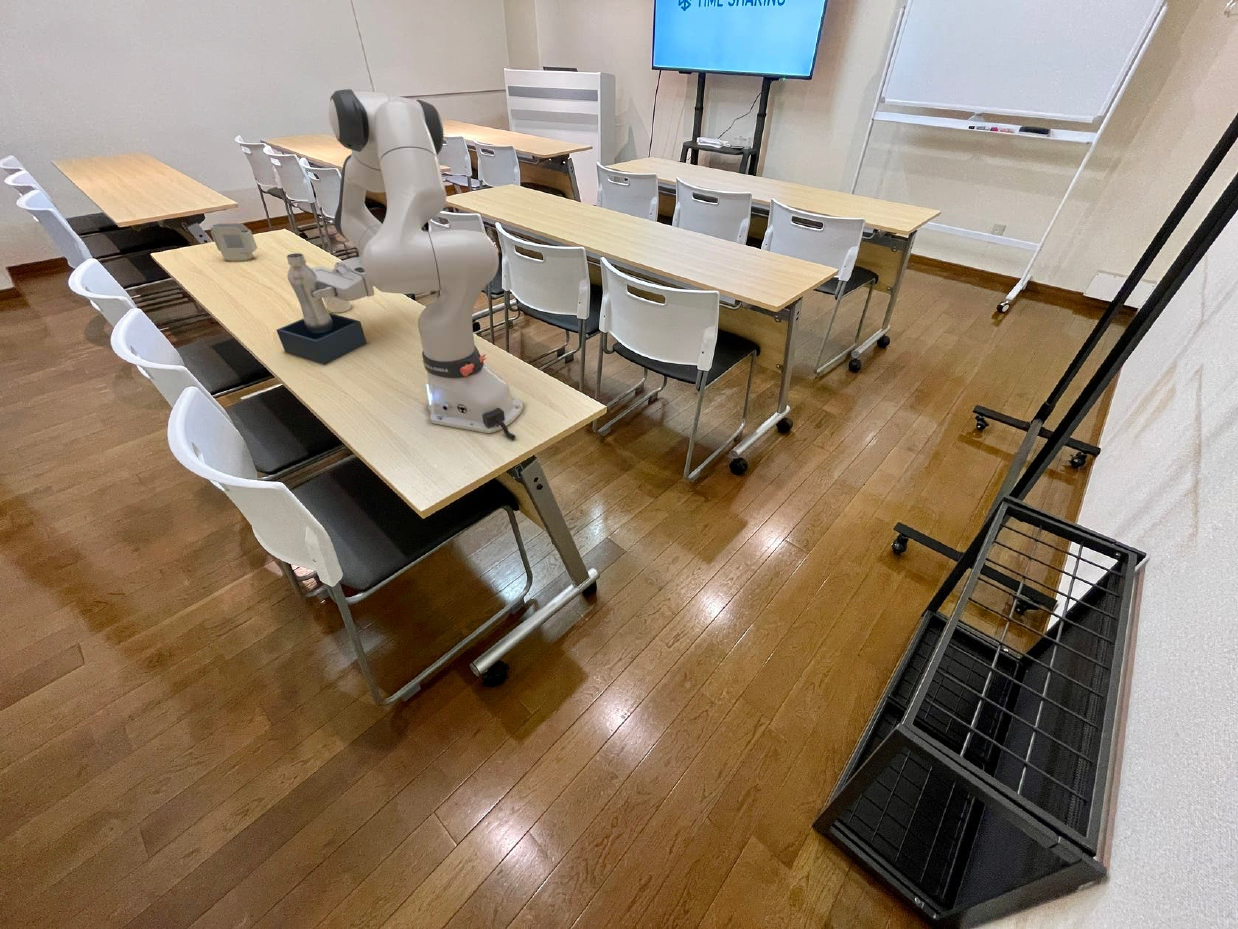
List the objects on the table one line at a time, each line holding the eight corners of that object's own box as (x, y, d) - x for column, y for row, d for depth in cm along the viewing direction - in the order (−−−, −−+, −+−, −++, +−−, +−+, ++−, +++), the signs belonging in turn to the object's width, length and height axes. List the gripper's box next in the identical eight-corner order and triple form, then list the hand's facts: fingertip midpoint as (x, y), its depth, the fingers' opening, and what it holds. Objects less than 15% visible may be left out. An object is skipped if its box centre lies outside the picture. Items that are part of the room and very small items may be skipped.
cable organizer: (256, 261, 194) (243, 227, 186) (219, 262, 192) (204, 227, 184) (262, 255, 199) (249, 222, 192) (226, 256, 197) (211, 222, 189)
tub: (367, 343, 147) (360, 321, 142) (324, 364, 136) (316, 341, 132) (329, 332, 151) (321, 310, 147) (285, 352, 141) (275, 329, 136)
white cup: (346, 301, 168) (337, 270, 162) (357, 309, 164) (348, 277, 158) (321, 307, 164) (311, 276, 158) (331, 315, 160) (321, 283, 153)
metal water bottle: (332, 335, 139) (306, 259, 126) (304, 336, 138) (276, 260, 125) (337, 325, 144) (313, 251, 131) (311, 326, 142) (284, 251, 130)
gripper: (322, 257, 144) (275, 271, 135) (372, 273, 137) (325, 288, 127) (329, 280, 148) (284, 295, 139) (378, 296, 141) (333, 313, 131)
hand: (304, 292), depth 133 cm, fingers closed on metal water bottle, 6 cm apart
